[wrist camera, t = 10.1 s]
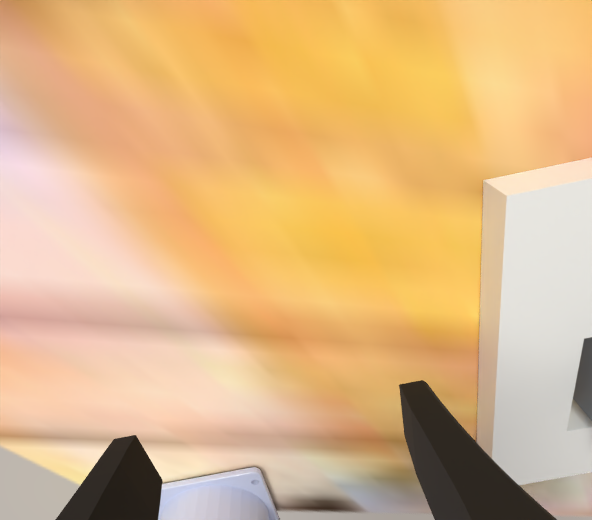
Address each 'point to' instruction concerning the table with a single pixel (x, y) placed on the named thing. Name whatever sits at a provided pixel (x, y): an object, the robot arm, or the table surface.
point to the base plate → (535, 321)
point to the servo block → (585, 379)
